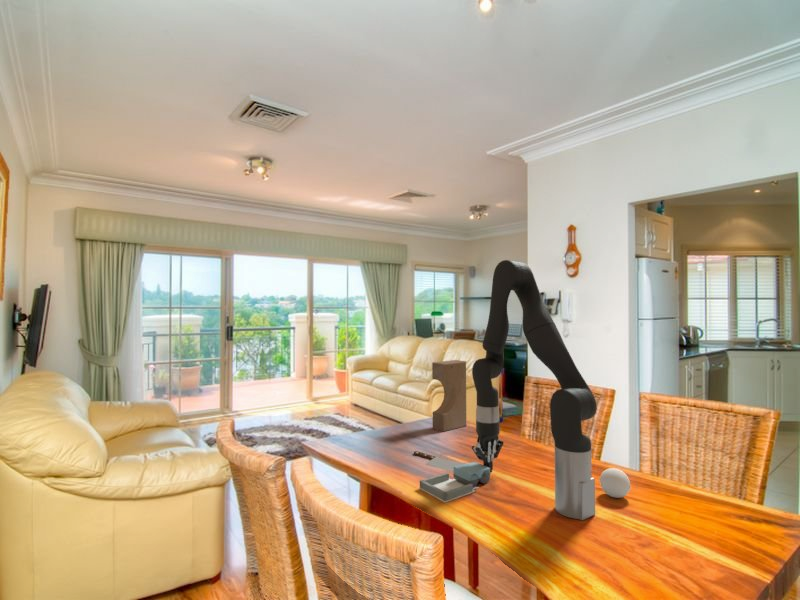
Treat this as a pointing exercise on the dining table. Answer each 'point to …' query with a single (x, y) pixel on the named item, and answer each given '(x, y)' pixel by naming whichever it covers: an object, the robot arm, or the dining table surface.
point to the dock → (446, 487)
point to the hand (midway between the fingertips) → (488, 472)
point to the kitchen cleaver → (439, 461)
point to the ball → (615, 482)
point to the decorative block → (450, 395)
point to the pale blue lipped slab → (472, 473)
